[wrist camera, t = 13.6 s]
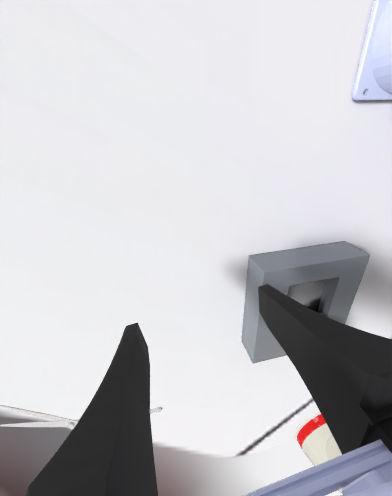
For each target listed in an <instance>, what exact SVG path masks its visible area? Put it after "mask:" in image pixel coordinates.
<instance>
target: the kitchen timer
mask: <svg viewBox="0 0 392 496" xmlns="http://www.w3.org/2000/svg"><path fill="white" fill-rule="evenodd" d="M297 441H298V442H299V444H300V446H301V448H302V450H303V452H304V453H305V454H306V456H307V457H308V459H309V460H310V461H311V462H312V464H313V465H314V466H316V465H319V464H321V463H324V462H326V461H329V460H331V459H333V458H336V457H338V456H341V455H342V453H341V451H340V449H339V447H338V445H337V443H336V441H335V439H334V437H333V435H332V433H331V431H330V429H329V427H328V425H327V423H326V421H325V420H324V418H323V416H322V414H320V415H318V416H317V417H315V418H314V419H312V420H311V421H309V422H308V423H307V424H306V425H305V426H304V427H303V428H302V429H301V430H300V431H299V433H298V436H297ZM343 488H344V487H343ZM343 488H341V489H339V490H338V491H340V492H341V493H342V489H343Z"/></svg>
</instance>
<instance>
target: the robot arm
mask: <svg viewBox="0 0 392 496" xmlns="http://www.w3.org/2000/svg"><path fill="white" fill-rule="evenodd" d="M364 91H365V92H364ZM363 92H364V95H363ZM352 98H353V100H392V0H374V4H373V8H372V12H371V16H370V21H369V25H368V29H367V33H366V37H365V42H364V46H363V50H362V54H361V58H360V63H359V67H358V71H357V75H356V79H355V84H354V88H353V92H352ZM258 295H259V312H260V314H261V316H262V318H263V320H264V322H265V324H266V325H267V327H268V329H269V330H270V331H271V333H272V334H273V336H274V337H275V339H276V340H277V341H278V343H279V344H280V346H281V347H282V348H283V350H284V351H285V353H286V354H287V355H288V357H289V358H290V360H291V361H292V363H293V364H294V366H295V367H296V369H297V371H298V372H299V374H300V376H301V378H302V379H303V381H304V383H305V385H306V386H307V388H308V390H309V392H310V394H311V395H312V397H313V399H314V401H315V403H316V404H317V406H318V408H319V410H320V412H321V414H322V416H323V418H324V420H325V421H326V423H327V425H328V427H329V429H330V431H331V433H332V435H333V437H334V439H335V441H336V443H337V445H338V447H339V449H340V451H341V453H342V455H341V456H338V457H336V458H333V459H331V460H329V461H326V462H324V463H321V464H319V465H316V466H314V467H312V468H309V469H307V470H304V471H302V472H299V473H297V474H294V475H292V476H290V477H287V478H285V479H283V480H280V481H277V482H275V483H273V484H270V485H268V486H266V487H263V488H260V489H258V490H256V491H253V492H251V493H248V494H246V495H244V496H325V495H327V494H329V493H332V492H334V491H336V490H339V489H341V488H343V487H344V488H343V489H342V494H343V496H392V339H388V338H384V337H381V336H378V335H374V334H371V333H368V332H365V331H362V330H359V329H356V328H353V327H350V326H348V325H345V324H342V323H340V322H337V321H335V320H333V319H330V318H328V317H326V316H324V315H321V314H319V313H317V312H315V311H313V310H311V309H309V308H307V307H306V306H304V305H302V304H300V303H298V302H297V301H295V300H293V299H291V298H290V297H288V296H286V295H285V294H283V293H282V292H280V291H278V290H277V289H275V288H273V287H272V286H270V285H269V284H266V285H262V286H259V287H258ZM26 496H158V492H157V484H156V474H155V465H154V456H153V445H152V434H151V423H150V363H149V353H148V346H147V344H146V342H145V339H144V337H143V334H142V332H141V330H140V327H139V325H138V323H135V324H131V325H128V326H126V328H125V330H124V333H123V336H122V338H121V341H120V344H119V346H118V349H117V351H116V353H115V356H114V358H113V360H112V362H111V365H110V367H109V369H108V371H107V373H106V375H105V377H104V379H103V381H102V383H101V385H100V387H99V388H98V390H97V392H96V394H95V396H94V397H93V399H92V401H91V402H90V404H89V406H88V407H87V409H86V410H85V412H84V414H83V415H82V417H81V418H80V420H79V421H78V423H77V424H76V426H75V427H74V429H73V430H72V431H71V433H70V434H69V436H68V437H67V438H66V440H65V441H64V443H63V444H62V445H61V447H60V448H59V449H58V451H57V452H56V453H55V455H54V456H53V458H51V460H50V461H49V462H48V463H47V465H46V466H45V467H44V468H43V470H42V471H41V472H40V474H39V475H38V476H37V477H36V478H35V480H34V481H33V482H32V483H31V484H30V485H29V487H28V490H27V493H26Z"/></svg>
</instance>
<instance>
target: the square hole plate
mask: <svg viewBox="0 0 392 496" xmlns="http://www.w3.org/2000/svg"><path fill="white" fill-rule="evenodd" d="M369 257H370V255H369V254H368V253H366V252H364V251H362V250H360V249H358V248H356V247H354V246H352V245H350V244H349V243H347V242H345V241H343V242H336V243H329V244H323V245H316V246H309V247H302V248H296V249H289V250H282V251H276V252H269V253H262V254H256V255H249V260H248V272H247V284H246V296H245V307H244V319H243V331H242V343H243V345H244V347H245V349H246V351H247V353H248V355H249V357H250V359H251V361H252V363H257V362H261V361H265V360H269V359H273V358H277V357H281V356H285V355H287V354H286V353H285V351H284V350H283V348H282V347H281V346H280V344H279V343H278V341H277V340H276V339H275V337H274V336H273V334H272V333H271V331H270V330H269V329H268V327H267V325H266V324H265V322H264V320H263V318H262V316H261V314H260V312H259V295H258V287H259V286H262V285H266V284H269V285H270V286H272V287H273V288H275V289H277V290H278V291H280V292H282V293H283V294H285V295H286V296H287V295H288V290H289V286H293V285H298V284H304V283H309V282H315V281H320V280H326V283H325V286H324V290H323V293H322V297H321V300H320V304H319V307H318V311H317V313H319V314H321V315H324V316H326V317H328V318H330V319H333V320H335V321H337V322H340V323H342V324H345V322H346V319H347V316H348V314H349V311H350V308H351V306H352V303H353V300H354V297H355V295H356V292H357V289H358V287H359V284H360V281H361V278H362V276H363V273H364V270H365V268H366V265H367V262H368V260H369Z"/></svg>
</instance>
